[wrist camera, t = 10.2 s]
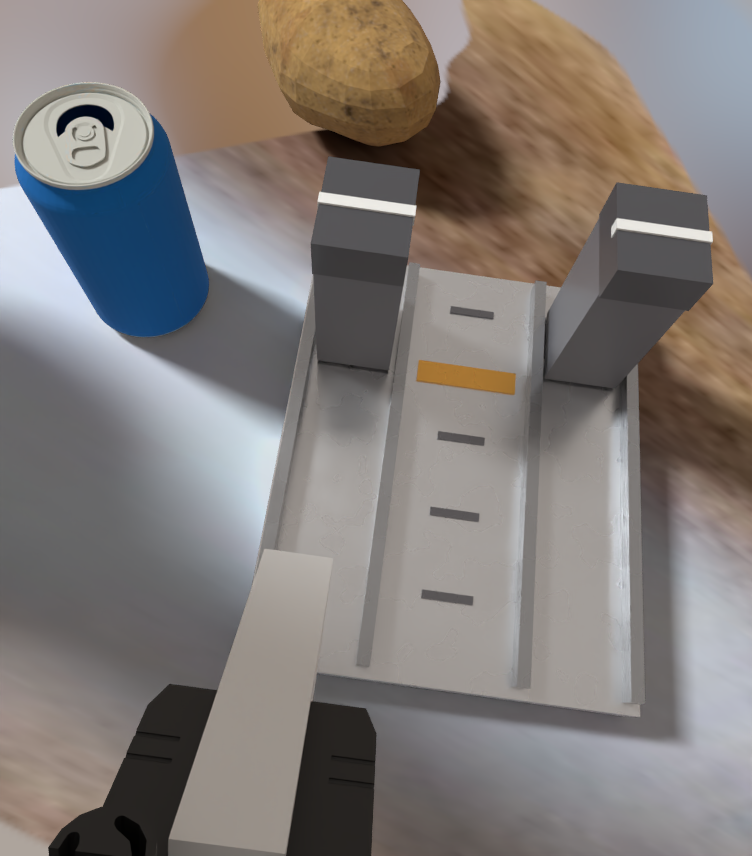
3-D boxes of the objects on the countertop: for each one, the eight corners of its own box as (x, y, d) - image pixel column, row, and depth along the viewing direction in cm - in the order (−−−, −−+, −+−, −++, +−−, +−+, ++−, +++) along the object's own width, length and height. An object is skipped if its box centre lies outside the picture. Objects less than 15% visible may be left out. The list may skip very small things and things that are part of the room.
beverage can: (204, 241, 41) (156, 67, 30) (217, 335, 38) (171, 184, 27) (92, 256, 40) (0, 82, 29) (99, 352, 38) (1, 204, 26)
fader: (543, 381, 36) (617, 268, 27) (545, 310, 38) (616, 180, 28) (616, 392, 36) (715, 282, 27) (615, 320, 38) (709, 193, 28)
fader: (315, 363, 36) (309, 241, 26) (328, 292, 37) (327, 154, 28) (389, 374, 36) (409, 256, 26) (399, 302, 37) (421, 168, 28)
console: (242, 663, 32) (234, 659, 29) (317, 273, 40) (316, 241, 38) (622, 716, 32) (650, 717, 29) (618, 316, 40) (639, 287, 38)
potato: (343, 215, 42) (346, 110, 35) (232, 70, 46) (213, -52, 39) (470, 154, 45) (497, 44, 37) (354, 21, 49) (357, -102, 41)
